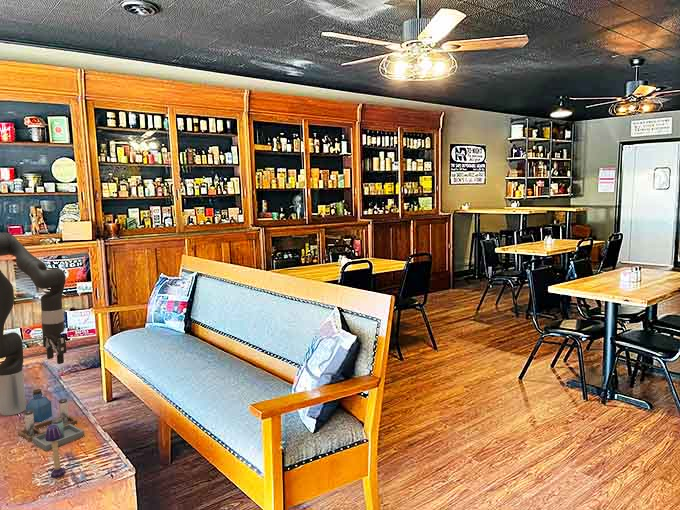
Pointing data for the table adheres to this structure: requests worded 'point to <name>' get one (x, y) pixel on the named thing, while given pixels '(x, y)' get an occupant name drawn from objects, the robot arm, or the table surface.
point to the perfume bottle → (39, 406)
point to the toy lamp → (55, 449)
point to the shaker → (59, 425)
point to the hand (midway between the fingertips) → (55, 361)
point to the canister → (64, 410)
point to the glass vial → (29, 423)
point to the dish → (69, 435)
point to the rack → (22, 432)
